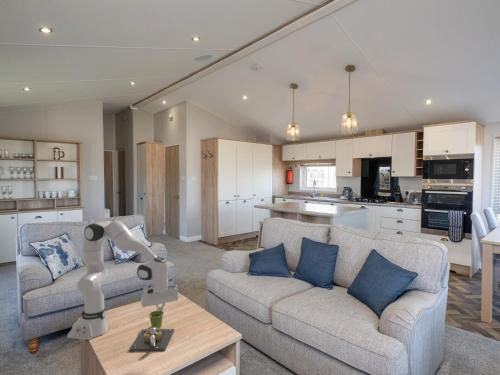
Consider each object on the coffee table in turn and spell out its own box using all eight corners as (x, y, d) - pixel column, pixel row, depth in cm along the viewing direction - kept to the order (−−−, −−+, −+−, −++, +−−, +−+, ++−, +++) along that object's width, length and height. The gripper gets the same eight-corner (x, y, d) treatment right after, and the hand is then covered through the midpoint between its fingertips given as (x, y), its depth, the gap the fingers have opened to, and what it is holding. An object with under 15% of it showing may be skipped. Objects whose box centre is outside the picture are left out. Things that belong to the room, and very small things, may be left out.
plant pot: (159, 331, 184) (159, 317, 183) (146, 329, 185) (145, 316, 185) (166, 323, 193) (166, 310, 192) (153, 322, 195) (153, 309, 194)
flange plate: (129, 351, 163) (129, 337, 163) (142, 331, 183) (142, 320, 183) (165, 350, 163) (165, 337, 163) (174, 331, 183) (174, 319, 183)
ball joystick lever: (144, 334, 176) (144, 324, 176) (161, 331, 179) (161, 322, 179) (143, 349, 161) (142, 338, 161) (161, 346, 164) (161, 335, 164)
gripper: (177, 281, 172) (177, 304, 173) (140, 287, 163) (140, 312, 163) (179, 285, 167) (179, 309, 167) (142, 292, 157) (142, 317, 158)
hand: (160, 310), depth 165 cm, fingers closed
